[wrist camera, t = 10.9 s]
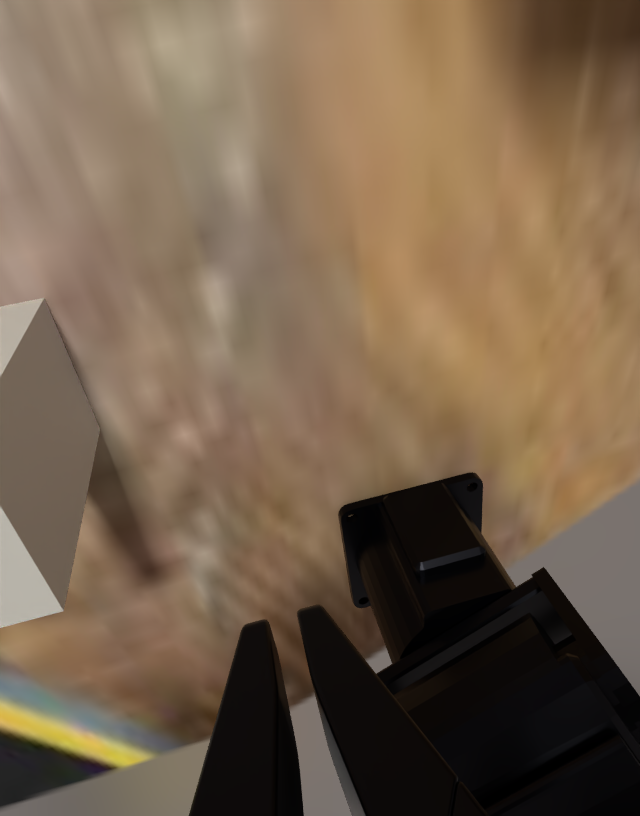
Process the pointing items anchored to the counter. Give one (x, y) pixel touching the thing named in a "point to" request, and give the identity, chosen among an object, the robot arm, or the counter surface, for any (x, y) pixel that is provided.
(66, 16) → the counter surface
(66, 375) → the domino
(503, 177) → the counter surface
